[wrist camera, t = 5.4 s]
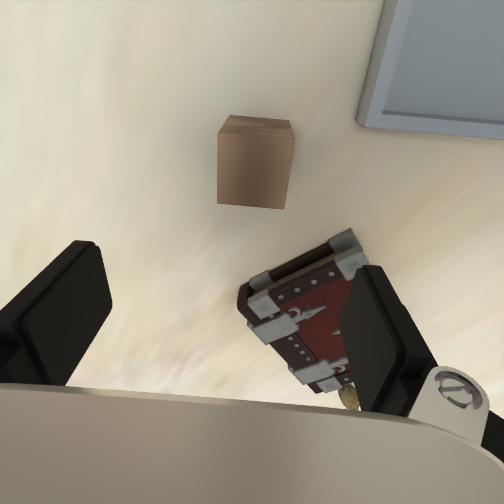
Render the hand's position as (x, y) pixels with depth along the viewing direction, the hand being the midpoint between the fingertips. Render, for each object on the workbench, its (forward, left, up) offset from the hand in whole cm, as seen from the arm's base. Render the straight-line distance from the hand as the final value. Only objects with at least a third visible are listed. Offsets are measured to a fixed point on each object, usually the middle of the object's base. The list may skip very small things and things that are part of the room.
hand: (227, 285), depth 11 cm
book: (-13, +21, -20) cm, 31 cm away
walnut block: (0, 0, -19) cm, 19 cm away
